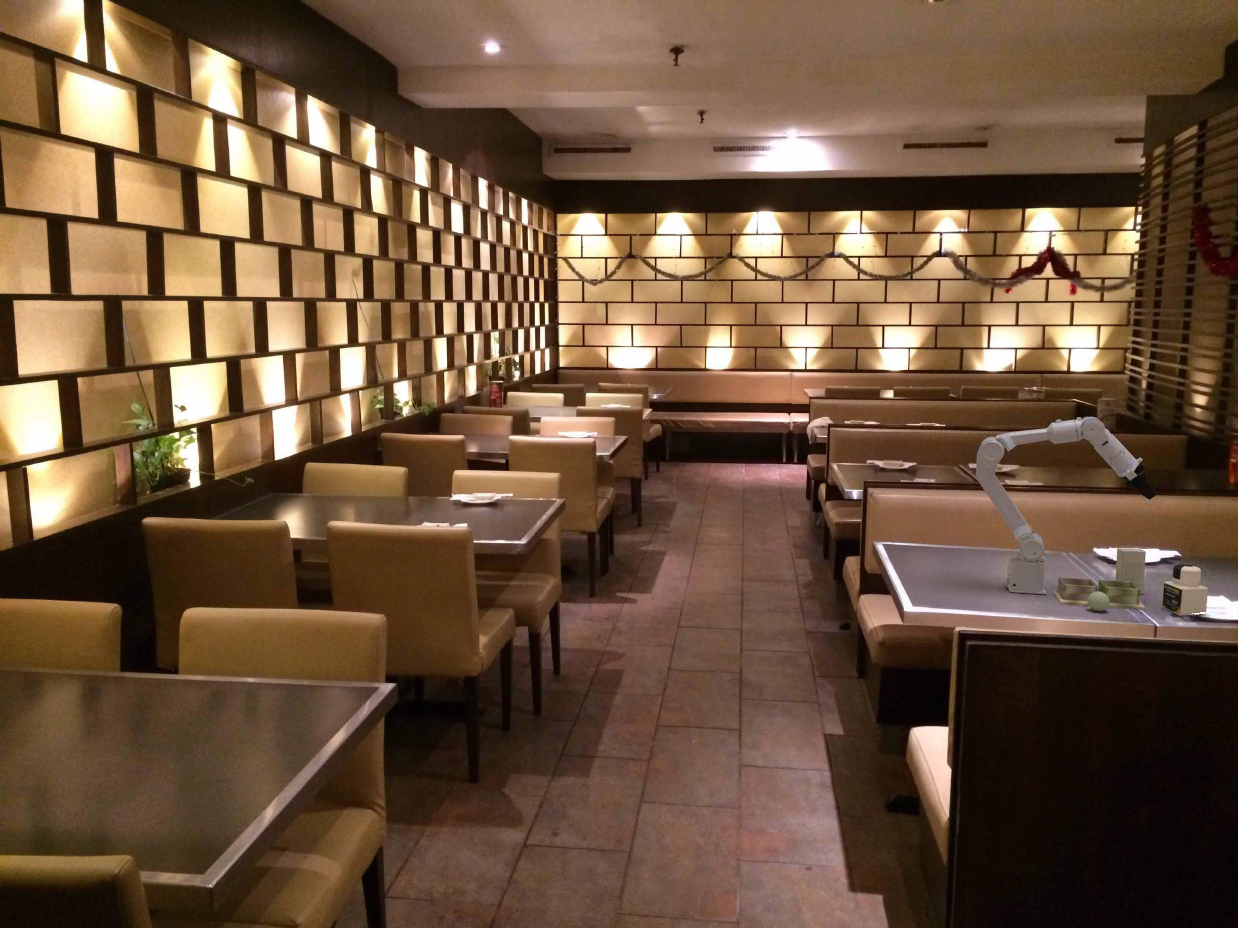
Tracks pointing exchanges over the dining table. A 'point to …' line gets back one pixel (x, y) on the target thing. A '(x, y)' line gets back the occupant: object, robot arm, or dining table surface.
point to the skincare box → (1131, 566)
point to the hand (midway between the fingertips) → (1152, 494)
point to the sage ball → (1098, 601)
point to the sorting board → (1080, 589)
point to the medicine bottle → (1185, 591)
